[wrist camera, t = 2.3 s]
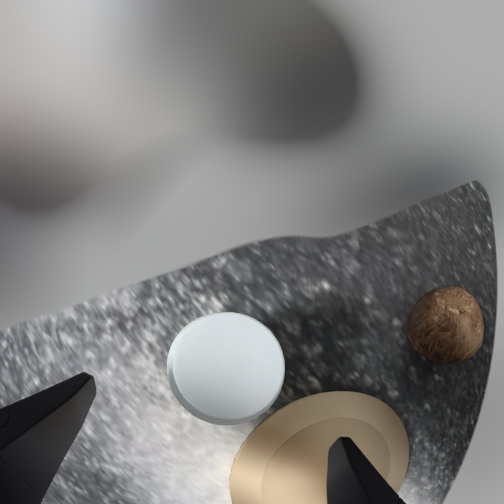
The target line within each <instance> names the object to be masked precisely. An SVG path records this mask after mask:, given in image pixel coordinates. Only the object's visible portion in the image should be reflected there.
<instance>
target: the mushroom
mask: <svg viewBox="0 0 504 504" xmlns="http://www.w3.org/2000/svg"><path fill="white" fill-rule="evenodd" d="M483 333H484V325H483V318H482V313H481V309H480V307H479V305H478V304H477V302H476V301H475V299H474V297H473V296H472V295H471V294H469V293H468V292H466V291H465V290H464V289H462V288H458V287H454V286H448V287H440V288H437V289H435V290H432V291H430V292H428V293H427V294H426V295H425V296H424V297H422V298H421V299H420V300H419V301H418V302H417V304H416V305H415V306H414V308H413V309H412V310H411V312H410V313H409V315H408V318H407V335H408V337H409V339H410V341H411V344H412V346H413V348H414V350H416V351H417V352H418V353H420V354H421V355H423V356H424V357H425V358H427V359H429V360H432V361H435V362H438V363H441V364H458V363H460V362H463V361H465V360H467V359H470V358H471V357H473V356H474V354H475V353H476V352H477V351H478V349H479V348H480V347H481V345H482V341H483Z"/></svg>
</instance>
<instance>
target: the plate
mask: <svg viewBox="0 0 504 504" xmlns="http://www.w3.org/2000/svg"><path fill="white" fill-rule="evenodd" d="M339 437H350V438H351V439H352V440H353V441H354V443H355V444H356V445H357V446H358V448H359V449H360V450H361V451H362V453H363V454H364V455H365V456H366V457H367V459H368V460H369V461H370V462H371V464H372V465H373V466H374V467H375V468H376V470H377V471H378V472H379V473H380V474H381V476H382V477H383V478H384V479H385V480H386V481H387V483H388V484H389V485H390V486H391V487H392V488H393V490H394V491H395V492H396V493H398V491H399V489H400V487H401V485H402V483H403V481H404V478H405V475H406V472H407V467H408V462H409V442H408V437H407V433H406V430H405V428H404V425H403V423H402V421H401V420H400V418H399V417H398V415H397V414H396V413H395V412H394V410H392V409H391V408H390V407H389V406H388V405H387V404H385V403H384V402H382V401H381V400H379V399H377V398H375V397H372V396H370V395H366V394H363V393H358V392H351V391H332V392H323V393H318V394H313V395H309V396H306V397H303V398H300V399H297V400H295V401H293V402H291V403H289V404H287V405H285V406H283V407H282V408H280V409H278V410H277V411H275V412H274V413H272V414H271V415H270V416H268V417H267V418H266V419H264V420H263V421H262V422H261V423H260V424H259V425H258V426H257V427H256V428H255V429H254V430H253V431H252V432H251V433H250V435H249V436H248V437H247V438H246V440H245V441H244V443H243V444H242V446H241V447H240V449H239V451H238V453H237V455H236V457H235V459H234V463H233V466H232V469H231V475H230V494H231V499H232V504H327V492H326V480H327V465H328V451H329V448H330V447H331V446H332V444H333V443H334V442H335V441H336V440H337V438H339Z"/></svg>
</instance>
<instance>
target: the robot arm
mask: <svg viewBox="0 0 504 504" xmlns="http://www.w3.org/2000/svg"><path fill="white" fill-rule="evenodd" d="M95 395H96V386H95V380H94V377H93V376H92V375H90V374H88V373H85V372H83V373H80V374H78V375H76V376H74V377H72V378H69V379H67V380H65V381H63V382H61V383H58V384H56V385H54V386H52V387H50V388H47V389H45V390H43V391H41V392H38V393H36V394H34V395H32V396H29V397H27V398H25V399H22V400H20V401H18V402H15V403H13V404H11V405H8V406H6V407H3V408H1V409H0V504H41V502H42V499H43V497H44V495H45V493H46V491H47V489H48V487H49V485H50V484H51V482H52V480H53V478H54V476H55V474H56V472H57V470H58V468H59V467H60V465H61V463H62V461H63V459H64V457H65V456H66V454H67V452H68V450H69V448H70V447H71V445H72V443H73V441H74V440H75V438H76V436H77V434H78V433H79V431H80V429H81V427H82V425H83V423H84V421H85V419H86V416H87V414H88V411H89V409H90V407H91V405H92V402H93V400H94V398H95ZM326 492H327V504H406V503H405V502H404V501H403V500H402V499H401V498H399V495H398V494H397V493H396V492H395V491H394V490H393V488H392V487H391V486H390V485H389V484H388V483H387V481H386V480H385V479H384V478H383V477H382V476H381V474H380V473H379V472H378V471H377V470H376V468H375V467H374V466H373V465H372V464H371V462H370V461H369V460H368V459H367V457H366V456H365V455H364V454H363V453H362V451H361V450H360V449H359V448H358V446H357V445H356V444H355V443H354V441H353V440H352V439H351V438H350V437H339V438H337V440H336V441H335V442H334V443H333V444H332V446H331V447H330V448H329V451H328V465H327V480H326Z"/></svg>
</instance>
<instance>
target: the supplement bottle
mask: <svg viewBox="0 0 504 504" xmlns="http://www.w3.org/2000/svg"><path fill="white" fill-rule="evenodd" d="M284 374H285V361H284V356H283V352H282V349H281V347H280V344H279V342H278V341H277V339H276V337H275V336H274V335H273V333H272V332H271V331H270V330H269V329H268V328H267V327H266V326H264V325H263V324H262V323H260V322H259V321H257V320H256V319H254V318H252V317H249V316H246V315H243V314H239V313H232V312H218V313H212V314H208V315H204V316H202V317H200V318H197V319H196V320H194V321H192V322H191V323H189V324H188V325H187V326H185V327H184V328H183V329H182V330H181V331H180V333H179V334H178V335H177V337H176V338H175V340H174V341H173V343H172V346H171V348H170V351H169V354H168V360H167V375H168V381H169V384H170V387H171V389H172V392H173V394H174V395H175V397H176V399H177V400H178V401H179V403H180V404H181V405H182V406H183V407H184V408H185V409H186V410H187V411H188V412H189V413H191V414H192V415H194V416H195V417H197V418H199V419H201V420H203V421H206V422H209V423H212V424H217V425H236V424H241V423H245V422H248V421H251V420H253V419H255V418H257V417H258V416H260V415H261V414H263V413H264V412H265V411H266V410H267V409H268V408H269V407H270V406H271V405H272V404H273V403H274V401H275V400H276V398H277V397H278V395H279V393H280V391H281V388H282V385H283V381H284Z"/></svg>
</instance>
